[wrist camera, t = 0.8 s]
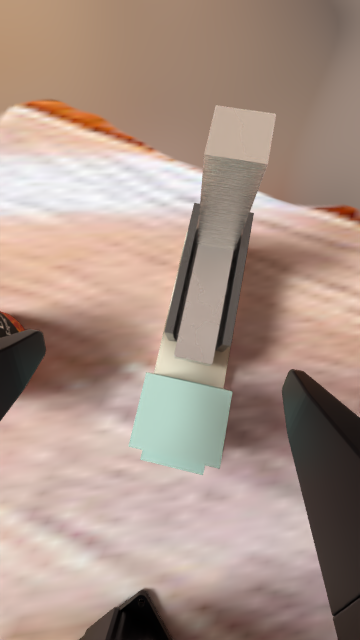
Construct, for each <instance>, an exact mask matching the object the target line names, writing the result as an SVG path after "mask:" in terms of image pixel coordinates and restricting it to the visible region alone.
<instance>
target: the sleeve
mask: <svg viewBox="0 0 360 640" xmlns="http://www.w3.org/2000/svg"><path fill="white" fill-rule="evenodd" d="M199 214H200V204H197V203H194V207H193V211H192V215H191V220H190V224H189V228H188V233H187V237H186V241H185V246H184V250H183V254H182V259H181V263H180V267H179V271H178V276H177V280H176V284H175V289H174V293H173V297H172V302H171V306H170V310H169V314H168V319H167V323H166V327H165V334H166V336H167V338H168V340H169V341H173V342H177V339H178V335H179V330H180V325H181V321H182V316H183V312H184V307H185V303H186V298H187V294H188V289H189V284H190V280H191V275H192V271H193V266H194V262H195V257H196V253H197V248H198V244H197V239H198V227H199ZM253 215H254V213H250V212H249V215H248V217H247V220H246V223H245V225H244V228H243V230H242V233H241V236H240V238H239V241H238V244H237V246H236V249H235V251H233V256H232V261H231V267H230V272H229V277H228V283H227V288H226V294H225V299H224V304H223V310H222V315H221V320H220V326H219V331H218V337H217V342H216V347H215V350H216V351H221V352H223V351H225V350H226V349H227V348H229V347H230V346H231V343H232V337H233V331H234V325H235V319H236V314H237V308H238V302H239V296H240V290H241V284H242V279H243V273H244V267H245V261H246V255H247V250H248V244H249V238H250V232H251V226H252V221H253Z"/></svg>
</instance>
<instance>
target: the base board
mask: <svg viewBox="0 0 360 640" xmlns="http://www.w3.org/2000/svg"><path fill="white" fill-rule="evenodd" d="M187 233H188V231H187ZM187 233H186V237H187ZM185 241H186V238H185ZM184 246H185V242H184ZM184 246H183V250H184ZM182 254H183V251H182ZM181 259H182V255H181ZM181 259H180V263H181ZM180 263H179V267H180ZM178 271H179V268H178ZM177 276H178V272H177ZM177 276H176V280H177ZM175 284H176V281H175ZM174 289H175V285H174ZM174 289H173V293H174ZM173 293H172V297H173ZM171 302H172V298H171ZM171 302H170V306H171ZM170 306H169V310H170ZM168 314H169V311H168ZM167 319H168V315H167ZM167 319H166V323H167ZM166 323H165V327H166ZM176 344H177V342H173V341H169V340H168V338H167V336H166V334H165V328H164V332H163V336H162V341H161V345H160V349H159V353H158V358H157V362H156V366H155V371H154V373H155V374H160V375H165V376H169V377H174V378H178V379H183V380H187V381H192V382H196V383H201V384H205V385H210V386H214V387H219V388H224V382H225V376H226V370H227V364H228V359H229V353H230V347H231V346H230V347H229V348H227V349H226V350H225V351H223V352H221V351H216V350H215V353H214V358H213V364H212V365H210V366H207V365H202V364H197V363H193V362H188V361H183V360H179V359H175V357H174V353H175V348H176Z"/></svg>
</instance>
